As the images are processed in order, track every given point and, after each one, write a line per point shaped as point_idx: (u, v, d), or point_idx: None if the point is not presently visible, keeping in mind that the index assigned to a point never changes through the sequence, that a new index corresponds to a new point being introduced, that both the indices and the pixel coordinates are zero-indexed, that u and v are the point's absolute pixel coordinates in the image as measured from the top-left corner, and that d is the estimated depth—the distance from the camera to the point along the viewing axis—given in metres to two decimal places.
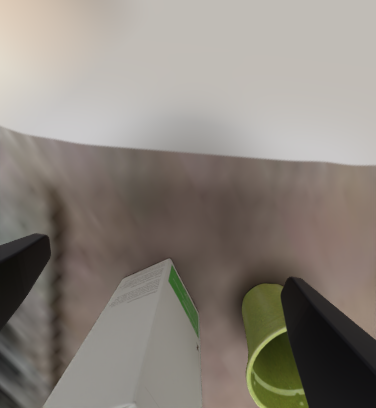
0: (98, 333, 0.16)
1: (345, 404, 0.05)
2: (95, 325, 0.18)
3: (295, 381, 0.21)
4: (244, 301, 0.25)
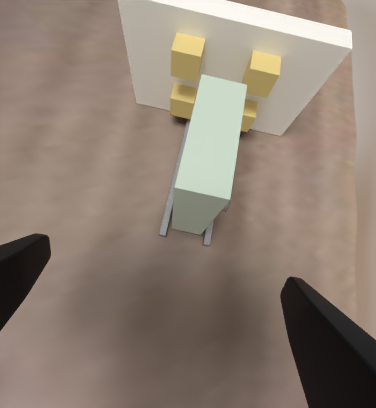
0: None
1: (345, 404, 0.05)
2: None
3: None
4: None
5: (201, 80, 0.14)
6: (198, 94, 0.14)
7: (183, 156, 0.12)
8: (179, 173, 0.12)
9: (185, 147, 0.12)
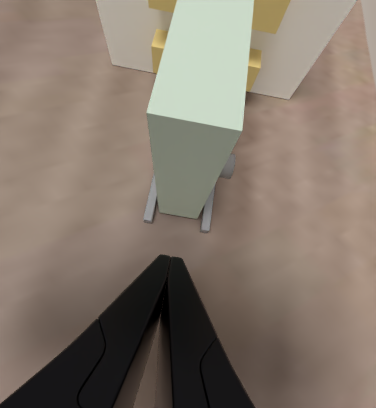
0: None
1: (161, 376, 0.05)
2: None
3: None
4: None
5: None
6: None
7: (161, 67, 0.07)
8: (154, 92, 0.07)
9: (164, 55, 0.08)
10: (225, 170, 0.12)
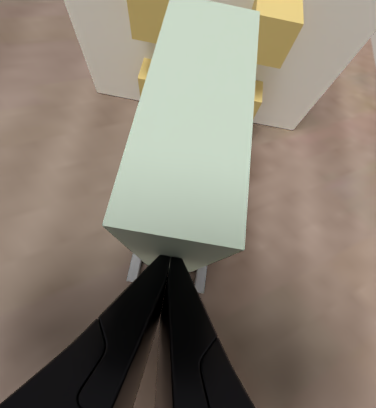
0: None
1: (162, 376, 0.05)
2: None
3: None
4: None
5: (171, 2, 0.07)
6: (165, 26, 0.07)
7: (129, 148, 0.05)
8: (117, 188, 0.05)
9: (134, 128, 0.05)
10: None
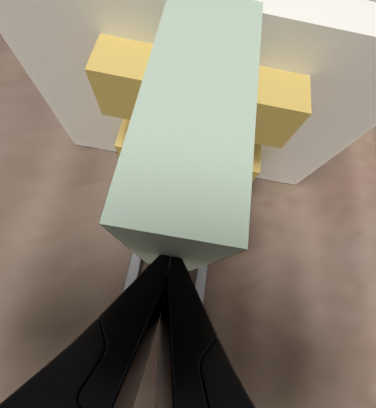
0: None
1: (161, 376, 0.05)
2: None
3: None
4: None
5: None
6: (165, 17, 0.07)
7: (127, 143, 0.05)
8: (114, 185, 0.05)
9: (133, 122, 0.05)
10: None
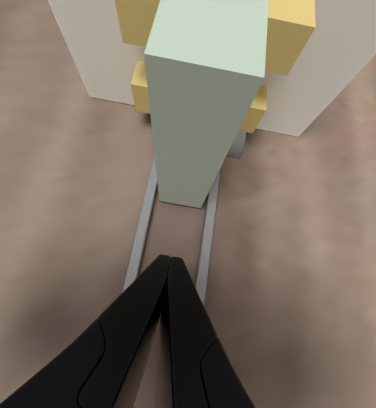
0: None
1: (162, 376, 0.05)
2: None
3: None
4: None
5: None
6: None
7: (162, 4, 0.06)
8: (154, 30, 0.06)
9: None
10: (234, 147, 0.10)
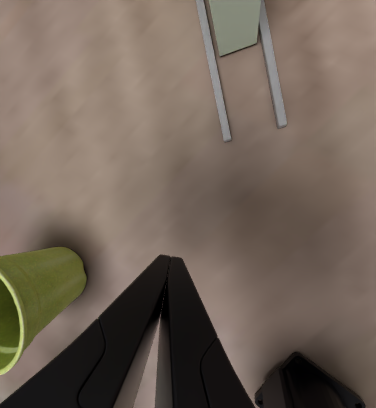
0: None
1: (162, 377, 0.05)
2: None
3: None
4: None
5: None
6: None
7: None
8: None
9: None
10: None
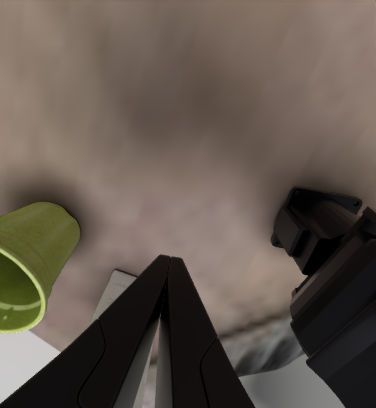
0: None
1: (161, 376, 0.05)
2: None
3: None
4: None
5: None
6: None
7: None
8: None
9: None
10: None
